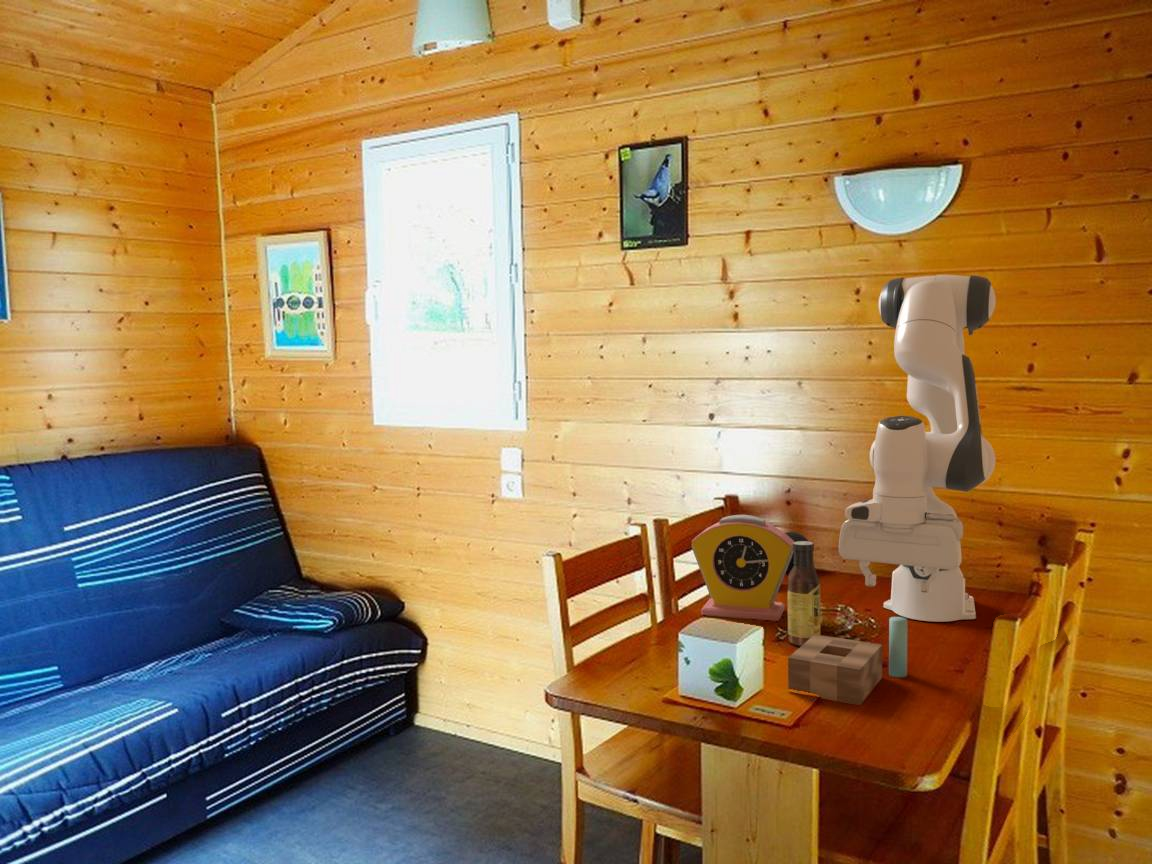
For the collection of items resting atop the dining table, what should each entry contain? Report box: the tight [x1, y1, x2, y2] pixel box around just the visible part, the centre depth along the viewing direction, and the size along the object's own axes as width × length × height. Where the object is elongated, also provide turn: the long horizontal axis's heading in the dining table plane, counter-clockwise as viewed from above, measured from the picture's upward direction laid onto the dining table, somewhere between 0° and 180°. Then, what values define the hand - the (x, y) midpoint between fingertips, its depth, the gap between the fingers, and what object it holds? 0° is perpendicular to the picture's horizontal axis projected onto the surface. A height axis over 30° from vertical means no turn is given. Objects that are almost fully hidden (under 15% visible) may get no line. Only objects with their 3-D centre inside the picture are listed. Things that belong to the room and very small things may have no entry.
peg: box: [888, 616, 908, 679], centre depth 163 cm, size 3×3×10 cm
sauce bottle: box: [786, 540, 821, 647], centre depth 180 cm, size 6×6×20 cm
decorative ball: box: [784, 531, 810, 572], centre depth 237 cm, size 10×10×10 cm
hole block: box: [787, 634, 883, 706], centre depth 159 cm, size 14×12×6 cm
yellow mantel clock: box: [690, 514, 794, 622], centre depth 201 cm, size 22×9×22 cm, turn 69°
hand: (898, 588), depth 161 cm, fingers open, 8 cm apart
